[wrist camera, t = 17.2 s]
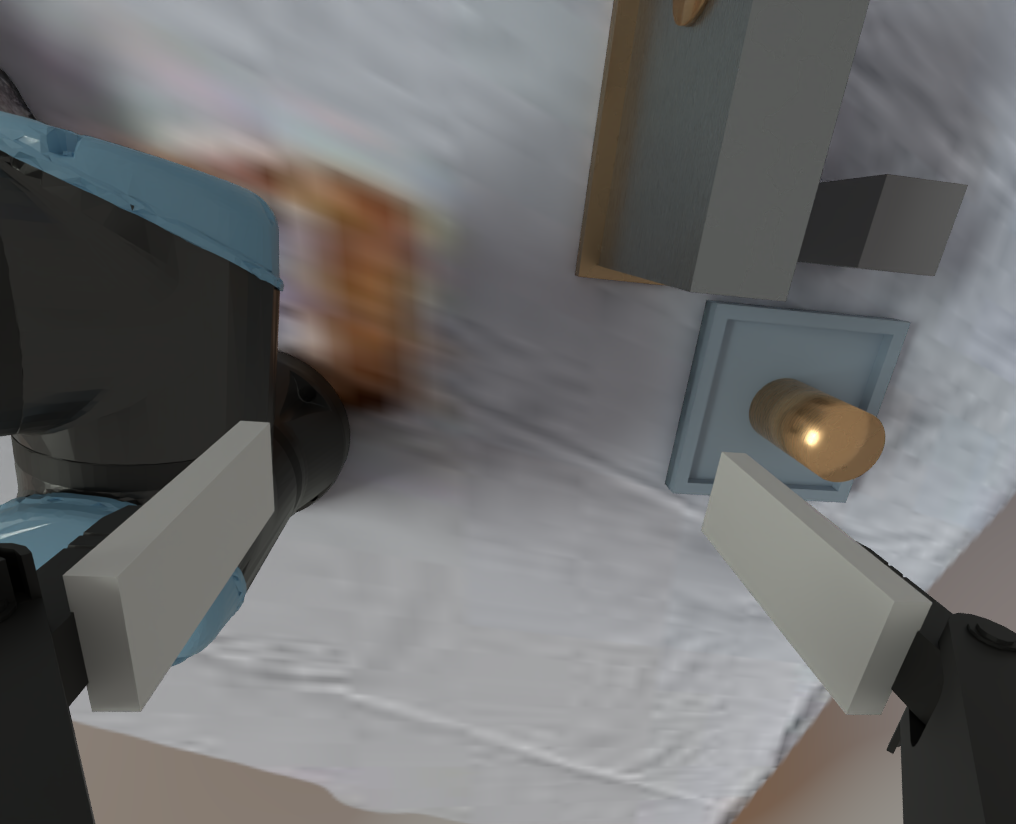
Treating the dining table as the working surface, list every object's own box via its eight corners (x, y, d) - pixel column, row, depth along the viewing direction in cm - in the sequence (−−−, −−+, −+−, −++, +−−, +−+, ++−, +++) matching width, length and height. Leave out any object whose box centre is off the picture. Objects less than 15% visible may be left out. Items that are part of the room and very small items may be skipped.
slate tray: (832, 492, 53) (845, 502, 51) (665, 483, 51) (672, 493, 49) (892, 318, 47) (910, 322, 45) (706, 300, 45) (717, 303, 43)
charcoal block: (846, 267, 45) (934, 276, 37) (782, 259, 44) (857, 267, 36) (869, 193, 43) (967, 185, 35) (803, 184, 42) (887, 174, 34)
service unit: (665, 284, 44) (808, 324, 26) (574, 275, 43) (656, 309, 25) (734, -62, 36) (1008, -354, 18) (625, -82, 35) (798, -410, 17)
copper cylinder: (800, 440, 49) (869, 484, 41) (741, 436, 49) (800, 480, 40) (819, 380, 47) (896, 413, 39) (758, 375, 47) (823, 408, 38)
